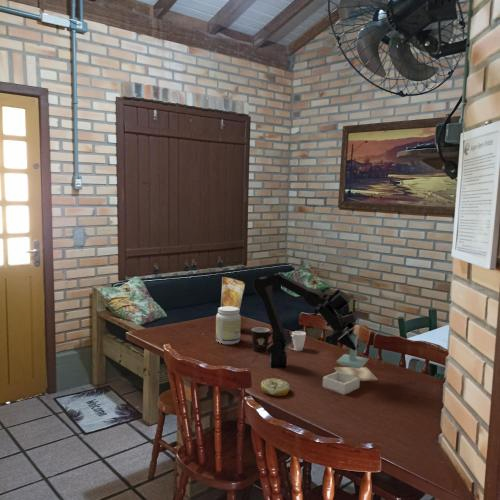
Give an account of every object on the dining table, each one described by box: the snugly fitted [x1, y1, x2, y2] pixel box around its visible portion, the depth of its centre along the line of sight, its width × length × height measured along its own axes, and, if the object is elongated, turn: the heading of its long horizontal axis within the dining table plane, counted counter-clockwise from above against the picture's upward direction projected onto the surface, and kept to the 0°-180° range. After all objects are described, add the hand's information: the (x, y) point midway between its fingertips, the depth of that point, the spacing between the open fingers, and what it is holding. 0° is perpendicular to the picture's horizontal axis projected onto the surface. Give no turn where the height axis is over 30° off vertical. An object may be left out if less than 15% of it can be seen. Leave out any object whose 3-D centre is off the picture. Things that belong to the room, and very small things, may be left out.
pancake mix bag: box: [220, 276, 246, 312], centre depth 262 cm, size 7×19×28 cm, turn 35°
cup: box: [288, 330, 307, 352], centre depth 231 cm, size 7×10×8 cm
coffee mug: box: [251, 326, 273, 354], centre depth 227 cm, size 12×9×10 cm
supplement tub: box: [215, 306, 242, 345], centre depth 240 cm, size 12×12×17 cm
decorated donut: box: [260, 377, 291, 397], centre depth 180 cm, size 10×11×4 cm
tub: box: [322, 371, 361, 396], centre depth 185 cm, size 10×10×4 cm
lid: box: [336, 333, 369, 369], centre depth 192 cm, size 10×10×12 cm
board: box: [334, 366, 379, 382], centre depth 200 cm, size 14×14×1 cm
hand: (356, 348), depth 191 cm, fingers closed on lid, 3 cm apart
